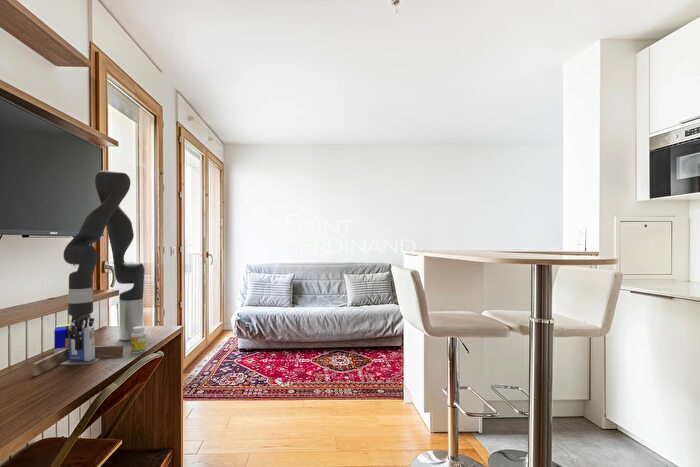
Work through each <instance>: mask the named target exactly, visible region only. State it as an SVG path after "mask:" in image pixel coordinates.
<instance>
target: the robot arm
mask: <svg viewBox="0 0 700 467" xmlns="http://www.w3.org/2000/svg"><path fill="white" fill-rule="evenodd" d="M94 182H95V183H94V184H95V189H96V192H97V196H98V199H99V201H100V205H98V206H97V207H96V208H94V209H93V210H92V211H90V212H89V213H88V214H87V216H86V217H85V219H84V220H83V223H82V225H81V227H80V229H79V232H77V234H75V236H73V238H72V239H71V240H70V241H69V243H68V244H67V245H66V246H65V248H64V251H63V260H64V261H65V262H66V263H67V264H69V265H76V266H77V265H78V267H77V270H76V271H73V272H71V273H69V275H68V292H67V293H68V294H67V314H68V315H69V316H71V320H70V323H69V324H70V326H66V329H67V332H68V334H69V337H70V339H74V340H75V350H82V349H83V346H82V338H83V336H82V333H83V332H84V327H94V322H95V318H94V317H91V314H92V313H93V312H94V290H93V275H94V272H95V268H96V265H97V263H98V252H97V249H96V248H95V247H94V245H91V244H94V243H98V242H99V241H100V240H101V238H102V236H103V233H104V231H105V228H106V230H107V235H108V240H109V244H110V247H111V254H112V258H113V260H112V261H113V268H114V269H113V270H114V277H115V280H116V282H117V283H118V284H121V285H122V284H123V285H124V284H125V285H127V284H129V285H131V284H132V285H133V286H132V288H130V289H128V290H125V291H123V292H120V293H119V340H121V341H131V334H132V333H134V332H133V327H137V326H144V290H145V289H144V287H145V286H144V285H145V282H144V281H145V266H144V264H143V263H142V262H125V254H126V252H127V250H128V249H129V247H130V245H131V244H132V242H133V240H134V228H133V223H132V221H131V218H130V217H129V216H128V214H126V213H125V211H124V210H123V209H122V208H121V206H120V204H121V203H122V202H123V200H124V199H125V197H126V195H127V194H128V192H129V190H130V188H131V178H130V176H129V175H128V174H127V173H125V172H122V171H115V170H114V171H113V170H112V171H111V170H104V169H103V170H98V172H97V173H96V175H95V178H94ZM79 330H80V331H79ZM78 333H79V334H78ZM73 335H74V336H73Z"/></svg>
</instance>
